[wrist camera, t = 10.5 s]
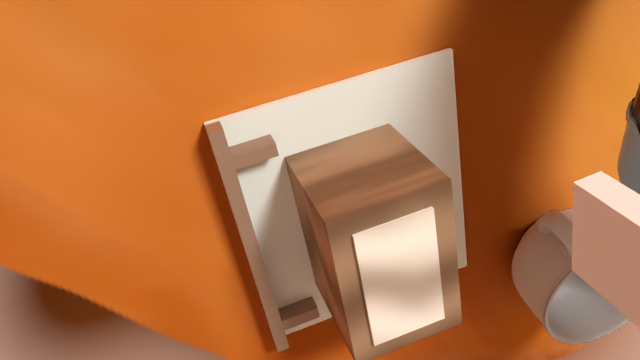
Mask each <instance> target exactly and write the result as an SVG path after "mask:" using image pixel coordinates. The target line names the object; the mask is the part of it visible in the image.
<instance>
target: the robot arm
mask: <svg viewBox="0 0 640 360" xmlns="http://www.w3.org/2000/svg"><path fill="white" fill-rule="evenodd" d="M626 120H627V125H626V129H625V133H624V137H623V141H622V146H621V150H620V154H619V158H618V175H619V180H620V182H618V181H617V180H615V179H613V178H612V177H610V176H608V175H607V174H605V173H603V172H602V171H600V172H598V173H595V174H593V175H590V176H588V177H585V178H583V179H580V180H578V181H575V182H573V228H572V271H573V272H575V273H576V274H577V275H578V276H579V277H580V278H582V279H583V280H584V281H585V282H586V283H587V284H589V285H590V286H591V287H592V288H593V289H594V290H596V291H597V292H598V293H599V294H600V295H601V296H603V297H604V298H605V299H606V300H607V301H608V302H610V303H611V304H612V305H613V306H614V307H615V308H617V309H618V310H619V311H620V312H621V313H622V314H624V315H625V316H626V317H627V318H628V319H629V320H631V321H632V322H633V323H634V324H635V325H636V326H638V327H639V328H640V84H639V87H638V90H637V93H636V97H634V98H633V100H632V101H630V102H629V104H628V107H627V111H626Z"/></svg>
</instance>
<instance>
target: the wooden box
mask: <svg viewBox="0 0 640 360" xmlns="http://www.w3.org/2000/svg"><path fill="white" fill-rule="evenodd" d="M284 158H285V162H286V166H287V170H288V174H289V178H290V182H291V186H292V190H293V194H294V198H295V202H296V206H297V210H298V214H299V218H300V222H301V226H302V230H303V234H304V238H305V242H306V246H307V250H308V254H309V258H310V262H311V266H312V270H313V274H314V278H315V282H316V286H317V288H318V290H319V292H320V294H321V296H322V298H323V300H324V302H325V304H326V305H327V307H328V309H329V311H330V313H331V315H332V317H333V319H334V321H335V323H336V325H337V327H338V329H339V331H340V333H341V335H342V337H343V339H344V341H345V343H346V345H347V347H348V349H349V351H350V353H351V355H352V357H353V359H354V360H372V359H374V358H377V357H379V356H382V355H384V354H387V353H389V352H392V351H394V350H397V349H399V348H402V347H404V346H407V345H409V344H412V343H414V342H417V341H419V340H422V339H424V338H427V337H429V336H432V335H434V334H437V333H439V332H442V331H444V330H447V329H449V328H452V327H454V326H457V325H459V324H462V312H461V299H460V286H459V273H458V260H457V247H456V234H455V221H454V208H453V195H452V182H451V179H450V178H449V177H448V176H447V175H446V174H445V173H444V172H443V171H441V170H440V169H439V168H438V167H437V166H436V165H435V164H434V163H433V162H431V161H430V160H429V159H428V158H427V157H426V156H425V155H424V154H423V153H421V152H420V151H419V150H418V149H417V148H416V147H415V146H414V145H412V144H411V143H410V142H409V141H408V140H407V139H406V138H405V137H404V136H402V135H401V134H400V133H399V132H398V131H397V130H396V129H395V128H394V127H392V126H391V125H390V124H389V123H388V124H385V125H382V126H379V127H376V128H373V129H370V130H367V131H364V132H361V133H357V134H354V135H351V136H348V137H345V138H342V139H339V140H336V141H333V142H330V143H327V144H323V145H320V146H317V147H314V148H311V149H308V150H305V151H302V152H299V153H296V154H293V155H290V156H286V157H284Z"/></svg>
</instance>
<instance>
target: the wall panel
mask: <svg viewBox="0 0 640 360" xmlns="http://www.w3.org/2000/svg"><path fill="white" fill-rule="evenodd" d="M203 123H204V126H205V129H206V132H207V135H208V138H209V141H210V145H211V148H212V151H213V154H214V157H215V160H216V163H217V166H218V169H219V172H220V176H221V179H222V182H223V185H224V188H225V191H226V194H227V197H228V200H229V203H230V207H231V210H232V213H233V216H234V219H235V222H236V225H237V228H238V231H239V234H240V238H241V241H242V244H243V247H244V250H245V253H246V256H247V259H248V262H249V265H250V269H251V272H252V275H253V278H254V281H255V284H256V287H257V290H258V293H259V296H260V300H261V303H262V306H263V309H264V312H265V315H266V318H267V321H268V324H269V327H270V331H271V334H272V337H273V339H274V342H275V345H276V348H277V351H278V352H280V351H283V350H286V349H288V348H290V347H289V344H288V340H287V337H286V335H287V334H290V333H292V332H295V331H298V330H300V329H303V328H306V327H308V326H311V325H313V324H316V323H319V322H321V321H324V320H327V319H329V318H332V315H331V313H330V311H329V309H328V307H327V305H326V304H325V302H324V300H323V298H322V296H321V294H320V292H319V290H318V288H317V286H316V282H315V278H314V274H313V270H312V266H311V262H310V258H309V254H308V250H307V246H306V242H305V238H304V234H303V230H302V226H301V222H300V218H299V214H298V210H297V206H296V202H295V198H294V194H293V190H292V186H291V182H290V178H289V174H288V170H287V166H286V162H285V158H284V157H286V156H290V155H293V154H296V153H299V152H302V151H305V150H308V149H311V148H314V147H317V146H320V145H323V144H327V143H330V142H333V141H336V140H339V139H342V138H345V137H348V136H351V135H354V134H357V133H361V132H364V131H367V130H370V129H373V128H376V127H379V126H382V125H385V124H388V123H389V124H390V125H391V126H392V127H394V128H395V129H396V130H397V131H398V132H399V133H400V134H401V135H402V136H404V137H405V138H406V139H407V140H408V141H409V142H410V143H411V144H412V145H414V146H415V147H416V148H417V149H418V150H419V151H420V152H421V153H423V154H424V155H425V156H426V157H427V158H428V159H429V160H430V161H431V162H433V163H434V164H435V165H436V166H437V167H438V168H439V169H440V170H441V171H443V172H444V173H445V174H446V175H447V176H448V177H449V178H450V179H451V182H452V195H453V208H454V221H455V234H456V247H457V260H458V269H460V268H463V267H465V266H467V256H466V241H465V226H464V211H463V196H462V181H461V166H460V150H459V135H458V120H457V105H456V90H455V75H454V60H453V49H451V48H446V49H443V50H440V51H437V52H433V53H430V54H427V55H423V56H420V57H417V58H414V59H410V60H407V61H404V62H400V63H397V64H394V65H391V66H387V67H384V68H381V69H377V70H374V71H371V72H368V73H364V74H361V75H358V76H355V77H351V78H348V79H345V80H341V81H338V82H335V83H332V84H328V85H325V86H322V87H318V88H315V89H312V90H309V91H305V92H302V93H299V94H295V95H292V96H289V97H286V98H282V99H279V100H276V101H272V102H269V103H266V104H263V105H259V106H256V107H253V108H249V109H246V110H243V111H240V112H236V113H233V114H230V115H226V116H223V117H220V118H217V119H213V120H210V121H207V122H203Z"/></svg>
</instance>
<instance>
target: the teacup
mask: <svg viewBox="0 0 640 360" xmlns="http://www.w3.org/2000/svg"><path fill="white" fill-rule="evenodd" d="M572 228H573V208H569V209H564V210H561V211H556V210H551V211H548V212H547V213H545V214H544V215H542V216H541V217H540V218H539V219H538V220H537V221H536V223H535V224H533V225H532V226H531V227H530V228H529V229H528V230H527V231H526V233H525V234H524V235H523V237H522V238H521V240H520V242H519V244H518V247H517V249H516V251H515V254H514V256H513V261H512V279H513V282H514V285H515V287H516V289H517V291H518V293H519V294H520V296H521V297H522V299H523V300H524V301H525V303H526V304H527V305H528V307H529V308H530V309H531V311H532V312H533V313H534V314H535V316H536V317H537V318H538V319H539V321H540V322H541V323H542V324H543V325H544V327H545V329H546V331H547V332H548V334H549V335H550V336H551V337H552V338H554V339H555V340H557V341H559V342H562V343H565V344H582V343H587V342H591V341H594V340H597V339H599V338H601V337H604V336H606V335H608V334H609V333H612V332H614V331H616V330H618V329H620V328H621V327H622V326H623V325H624V324H626V323H627V322H628V321H630V320H629V319H628V318H627V317H626V316H625V315H624V314H622V313H621V312H620V311H619V310H618V309H617V308H615V307H614V306H613V305H612V304H611V303H610V302H608V301H607V300H606V299H605V298H604V297H603V296H601V295H600V294H599V293H598V292H597V291H596V290H594V289H593V288H592V287H591V286H590V285H589V284H587V283H586V282H585V281H584V280H583V279H582V278H580V277H579V276H578V275H577V274H576V273H575V272H573V271H572Z"/></svg>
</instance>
